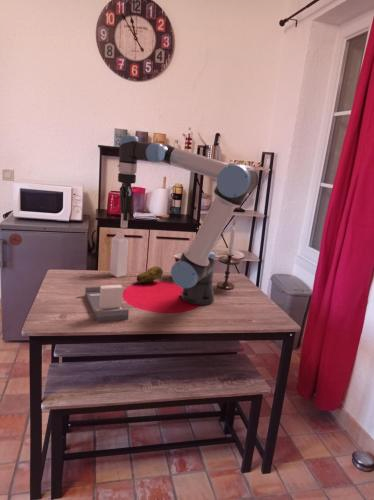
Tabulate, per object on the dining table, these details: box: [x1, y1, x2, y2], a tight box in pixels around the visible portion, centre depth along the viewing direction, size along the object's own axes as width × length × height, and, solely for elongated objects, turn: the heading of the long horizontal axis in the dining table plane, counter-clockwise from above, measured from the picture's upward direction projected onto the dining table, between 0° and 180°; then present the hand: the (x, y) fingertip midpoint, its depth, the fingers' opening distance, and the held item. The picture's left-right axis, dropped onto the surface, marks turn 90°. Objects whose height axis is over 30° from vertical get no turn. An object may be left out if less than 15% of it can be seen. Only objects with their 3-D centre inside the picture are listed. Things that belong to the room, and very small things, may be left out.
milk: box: [109, 231, 129, 278], centre depth 187 cm, size 6×6×22 cm
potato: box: [136, 266, 164, 284], centre depth 183 cm, size 8×13×8 cm, turn 99°
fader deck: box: [84, 285, 130, 323], centre depth 151 cm, size 26×12×4 cm, turn 24°
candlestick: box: [216, 219, 241, 291], centre depth 185 cm, size 11×11×35 cm
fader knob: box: [99, 284, 124, 310], centre depth 142 cm, size 5×8×10 cm, turn 114°
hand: (124, 227), depth 163 cm, fingers closed
